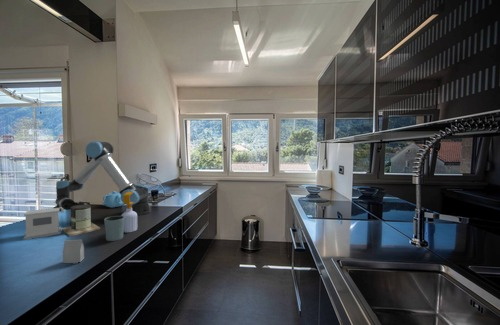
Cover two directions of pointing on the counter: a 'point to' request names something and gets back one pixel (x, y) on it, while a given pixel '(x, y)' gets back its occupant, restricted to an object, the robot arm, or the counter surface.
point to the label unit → (42, 223)
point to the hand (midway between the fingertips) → (75, 208)
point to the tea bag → (73, 251)
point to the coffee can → (80, 217)
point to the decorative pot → (113, 200)
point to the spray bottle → (129, 215)
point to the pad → (71, 233)
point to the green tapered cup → (114, 228)
